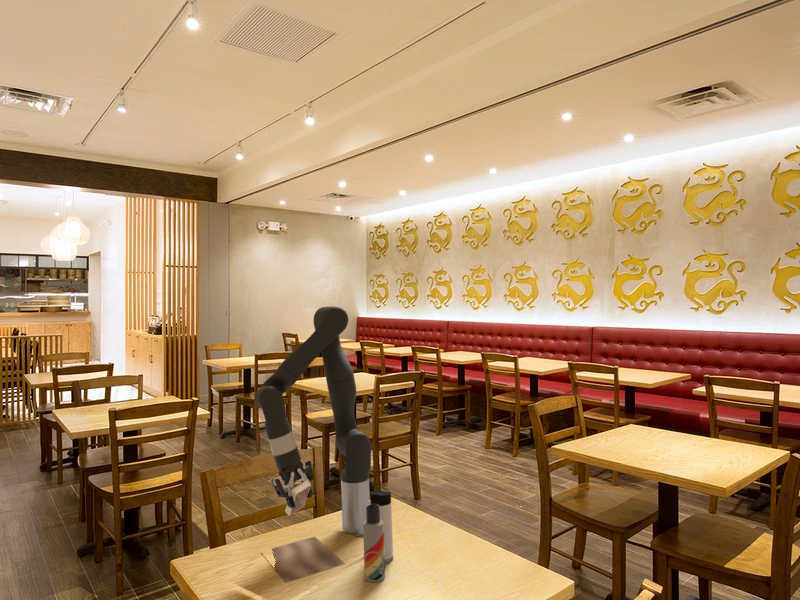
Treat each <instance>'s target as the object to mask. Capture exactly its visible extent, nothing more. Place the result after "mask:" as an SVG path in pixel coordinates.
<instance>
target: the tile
mask: <svg viewBox="0 0 800 600" xmlns="http://www.w3.org/2000/svg"><path fill="white" fill-rule="evenodd" d="M310 487H311V488H312V484H311V482H310V483H309V482H308V481H307V480H306V481H305V482H303V483H300V484H299V485H296V486H295V487H293V488H292V490H291V492H292V496H293V499H294V502H295V505H296V507H295V508H290V507H288V505H287V504H286V507H285V511H284V512H285V513H286V514H287V516H289V517H290V516H291V515H293V514H295V513H296V512H297V511H300V510H301V509H303V508H304V507H305V505H306V502H307V499H308V498H307V495H308V492H309V490H310Z"/></svg>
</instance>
